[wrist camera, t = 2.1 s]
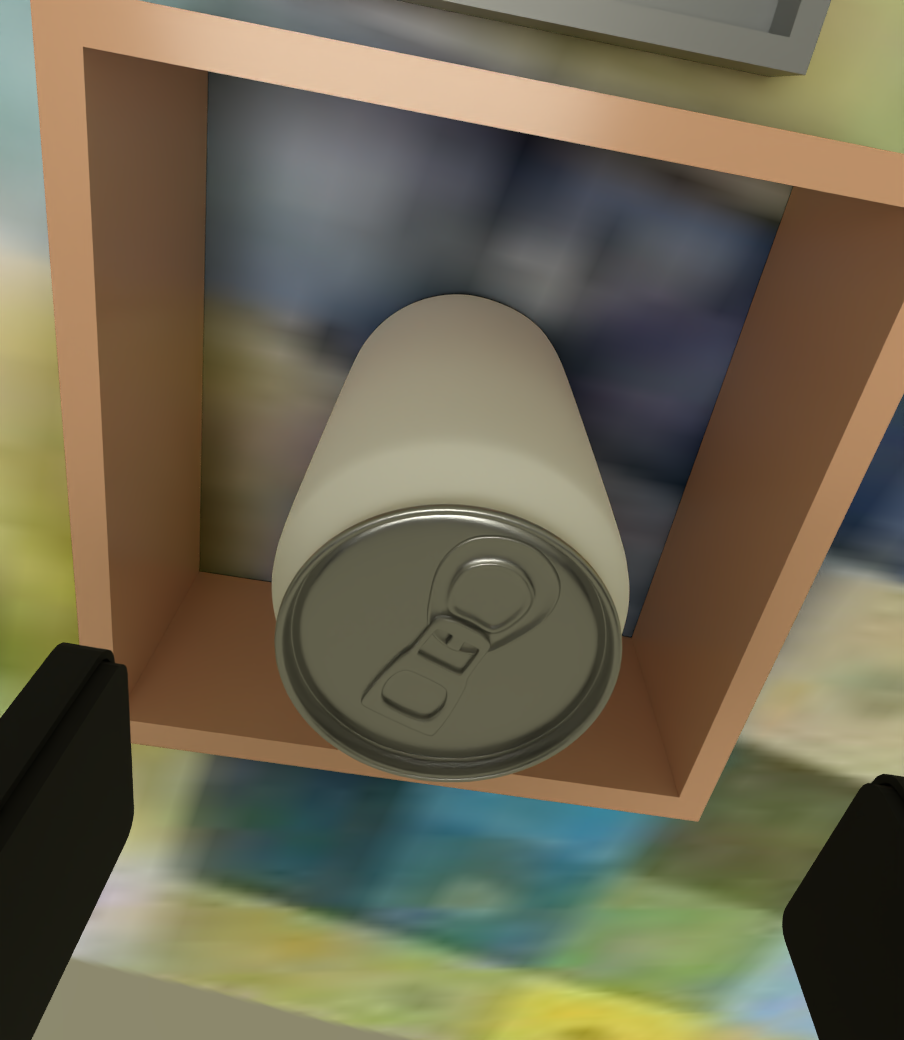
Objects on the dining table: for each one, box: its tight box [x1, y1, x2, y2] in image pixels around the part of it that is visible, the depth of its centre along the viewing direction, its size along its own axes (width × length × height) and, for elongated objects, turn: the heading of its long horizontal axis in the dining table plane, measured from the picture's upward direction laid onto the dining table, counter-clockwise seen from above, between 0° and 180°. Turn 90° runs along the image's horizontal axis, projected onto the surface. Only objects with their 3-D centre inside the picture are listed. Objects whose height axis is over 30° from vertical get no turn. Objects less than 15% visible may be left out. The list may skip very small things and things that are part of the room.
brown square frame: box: [30, 0, 904, 821], centre depth 20 cm, size 17×17×7 cm
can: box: [272, 294, 629, 782], centre depth 18 cm, size 6×6×12 cm
